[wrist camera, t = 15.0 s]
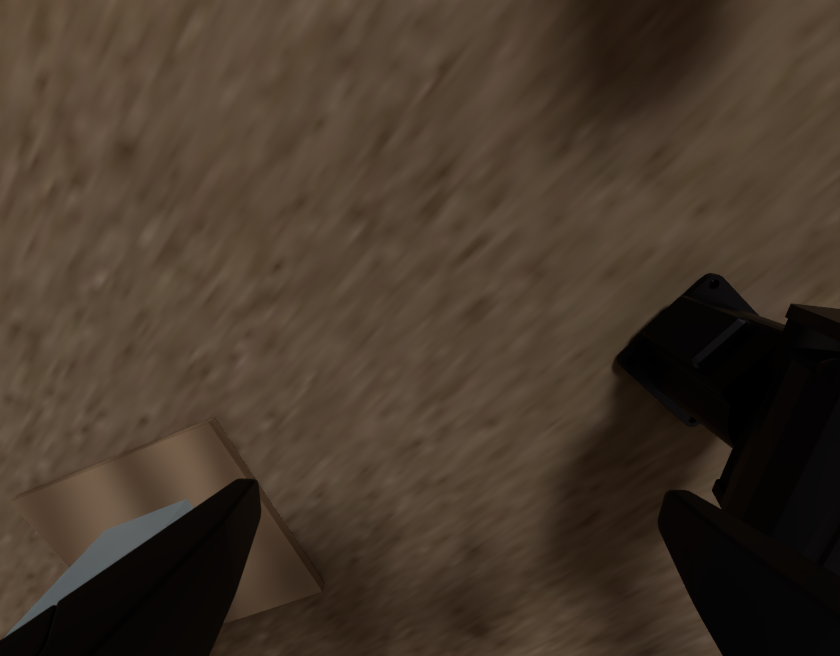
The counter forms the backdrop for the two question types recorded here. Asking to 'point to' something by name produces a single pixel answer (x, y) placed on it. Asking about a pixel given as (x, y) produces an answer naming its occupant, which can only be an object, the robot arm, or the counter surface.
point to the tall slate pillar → (107, 553)
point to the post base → (160, 487)
